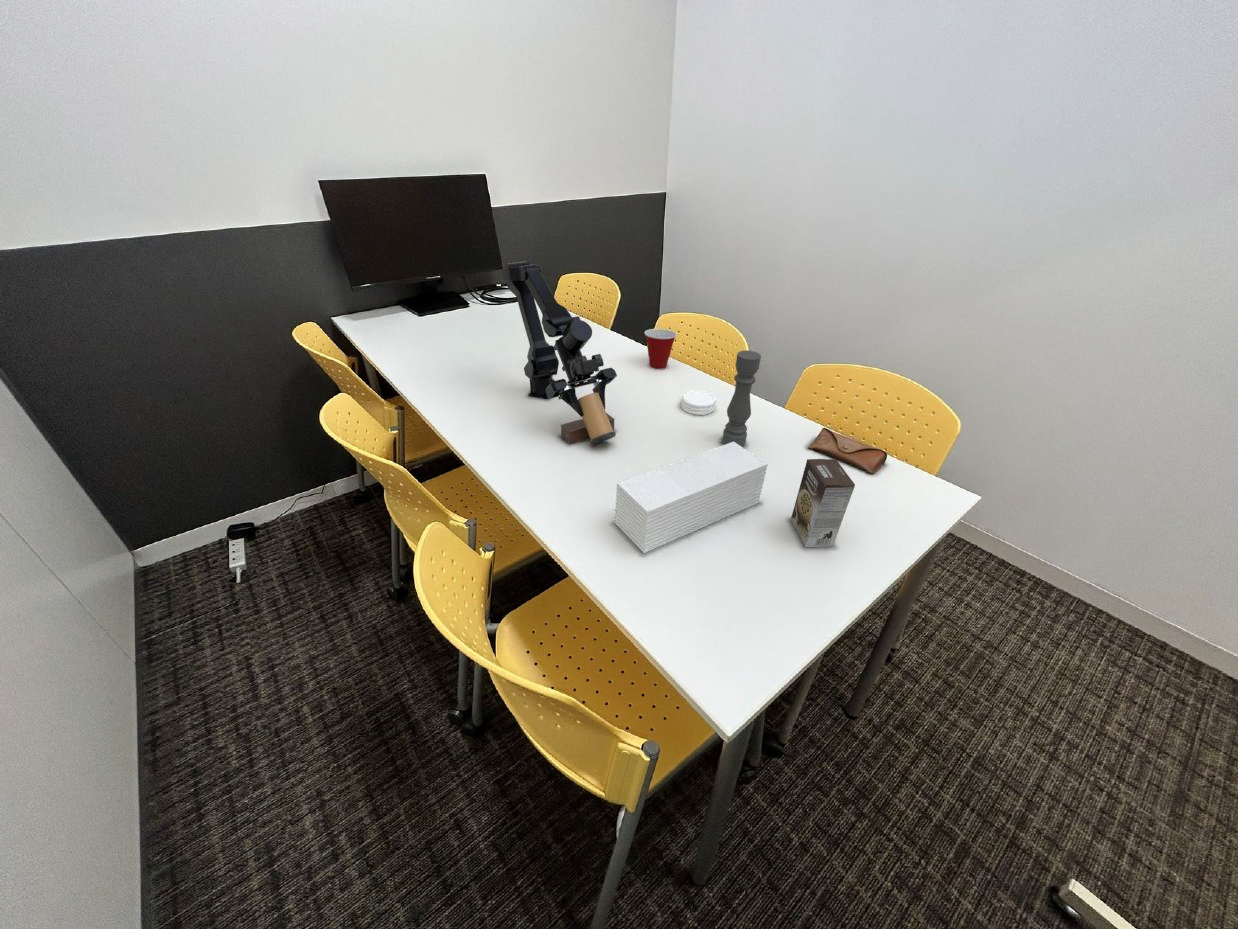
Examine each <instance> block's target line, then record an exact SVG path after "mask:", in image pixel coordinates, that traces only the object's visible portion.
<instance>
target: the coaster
mask: <svg viewBox="0 0 1238 929" xmlns="http://www.w3.org/2000/svg"><path fill="white" fill-rule="evenodd" d="M680 401H681V402H680V407H681V409H682V410H683V411H685V412H686V413H689V414H691V415H695V416H705V415H708V414H711V413H713V412H714V410H715V408H716V407H715V406H716V401H717V400H716V397H715V396H714V395H713V393H710V392H708V391H705V390H699V389H697V390H696V389H693V390H688V391H685V392H684V393H682V395H681V400H680Z"/></svg>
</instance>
